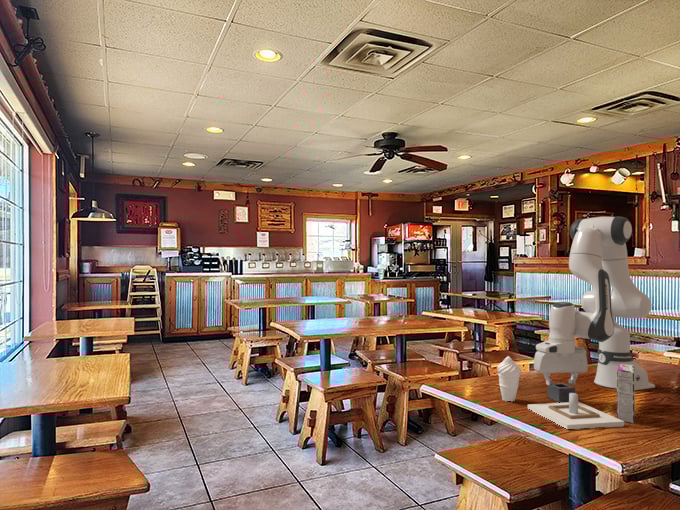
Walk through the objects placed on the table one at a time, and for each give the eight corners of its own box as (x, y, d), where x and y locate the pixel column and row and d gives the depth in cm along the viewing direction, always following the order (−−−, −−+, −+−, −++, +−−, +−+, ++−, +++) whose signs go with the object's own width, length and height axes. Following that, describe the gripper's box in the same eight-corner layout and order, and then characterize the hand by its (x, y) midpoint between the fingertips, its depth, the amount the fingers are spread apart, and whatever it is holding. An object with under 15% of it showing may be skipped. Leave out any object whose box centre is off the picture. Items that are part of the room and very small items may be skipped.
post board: (578, 406, 165) (579, 384, 165) (624, 426, 145) (624, 401, 145) (527, 408, 160) (527, 386, 161) (567, 430, 141) (567, 404, 141)
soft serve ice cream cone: (503, 395, 176) (503, 352, 176) (525, 400, 170) (525, 356, 170) (492, 399, 170) (493, 355, 170) (514, 405, 164) (515, 359, 164)
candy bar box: (617, 411, 159) (617, 363, 159) (634, 414, 157) (634, 365, 157) (615, 420, 150) (616, 369, 150) (634, 424, 147) (635, 371, 147)
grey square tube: (562, 396, 176) (563, 383, 176) (575, 401, 170) (575, 387, 170) (547, 397, 175) (547, 383, 175) (559, 402, 168) (559, 388, 168)
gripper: (580, 345, 177) (579, 381, 177) (531, 345, 173) (530, 382, 173) (592, 348, 171) (591, 386, 171) (542, 348, 167) (541, 387, 167)
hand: (560, 384), depth 172 cm, fingers open, 8 cm apart
